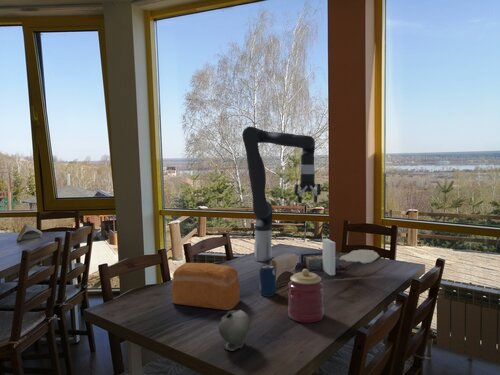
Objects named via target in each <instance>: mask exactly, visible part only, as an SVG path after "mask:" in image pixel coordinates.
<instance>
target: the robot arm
mask: <svg viewBox="0 0 500 375" xmlns="http://www.w3.org/2000/svg"><path fill="white" fill-rule="evenodd" d="M242 139H243V140H242V141H243V144H244V149H245V153H246V162H247V172H248V177H249V181H250V182H249V183H250V189H251V193H252V211H253V214H254V216H255V217H256V221H255V225H254V239H255V240H254V243H253V244H254V260H255V261H256V262H268V261H272V260H271V259H273V258H272V257H273V256H272V252H273V251H272V225H273V206H272V204H271V203H270V202H269V201H267V198H266V183H267V176H266V175H267V174H266V168H265V165H264V164H265V163H264V161H263V159H262V156H261V153H260V149H259V144H262V143H266V144H273V145H278V146H282V147H290V148H299V149H302V151H301V152H302V153H301V156H300V183H298V184H297V183H295V184H294V190H293V193H294V196H296V197H297V202H298V203H299V204H302V196H303V194H304V193H312V194H313V203H314V204H316V203H317V202H318V196H319V195H320V196H321V195H322V193H321V192H322V191H321V184H320V183H316V182H315V179H316V177H315V173H316V172H315V171H316V169H315V149H316V141H315V138H314V137H313V136H310V135H305V134H294V133H290V132H277V131H276V132H274V131H266V130H263V129H260V128H257V127H255V126H246V127H245V128H244V129H243V131H242ZM299 188H300V190H299ZM315 188H316V190H315Z"/></svg>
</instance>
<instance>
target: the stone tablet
mask: <svg viewBox="0 0 500 375" xmlns="http://www.w3.org/2000/svg"><path fill="white" fill-rule="evenodd" d="M379 258H380V254H378V252H376V251H375V250H372V249H371V250H370V249H357V250H351V251H350V252H349V253H347V254H343V255H342V256H340V257H339V261H345V262H355V263H357V262H360V263H362V264H363V265H364V264H365V265H366V264H371V263H373V262H374V261H376V260H377V259H379Z"/></svg>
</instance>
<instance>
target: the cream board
mask: <svg viewBox="0 0 500 375" xmlns="http://www.w3.org/2000/svg"><path fill="white" fill-rule="evenodd" d="M322 252H323V269H322V271H324V272H325V273H326V274H327V275H329V276H335V275H336V268H335V257H336V242H335V241H332V239H329V238H322Z"/></svg>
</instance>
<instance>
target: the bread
mask: <svg viewBox="0 0 500 375" xmlns="http://www.w3.org/2000/svg"><path fill="white" fill-rule="evenodd" d="M172 277H173V278H172V282H171V300H172V303H173V304H175V305H182V306H183V305H184V306H192V307H197V308H198V307H200V308H208V309H214V310H223V311H231V310H233V309H234V308H235V307H236V306H237V305H238V304H239V303H240V301H241V289H240V288H241V285H240V278H239V275H238V270H236V268H234V267H232V266H231V265H223V264H216V263H210V262H184V263H183V264H181V265H179V266H178V267H177V268H176V269H175V270H173V274H172Z"/></svg>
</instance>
